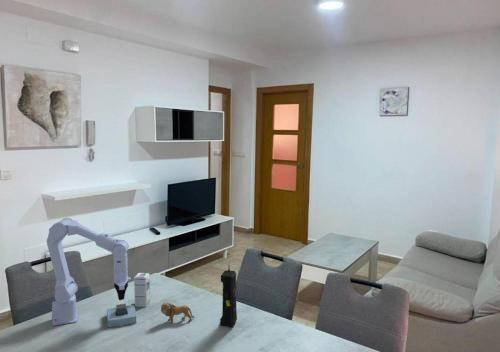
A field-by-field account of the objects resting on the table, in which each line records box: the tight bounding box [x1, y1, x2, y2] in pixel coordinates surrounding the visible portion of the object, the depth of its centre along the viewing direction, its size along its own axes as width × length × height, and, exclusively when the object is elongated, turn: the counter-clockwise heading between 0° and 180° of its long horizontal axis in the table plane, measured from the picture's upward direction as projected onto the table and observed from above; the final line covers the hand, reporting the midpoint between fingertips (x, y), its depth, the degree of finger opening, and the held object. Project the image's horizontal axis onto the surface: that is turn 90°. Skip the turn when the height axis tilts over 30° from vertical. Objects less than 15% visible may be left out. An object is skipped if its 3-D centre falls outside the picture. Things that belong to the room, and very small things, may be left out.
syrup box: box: [133, 272, 151, 308], centre depth 182 cm, size 6×6×14 cm
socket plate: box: [106, 304, 137, 328], centre depth 168 cm, size 12×12×3 cm
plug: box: [115, 303, 127, 316], centre depth 168 cm, size 4×4×6 cm
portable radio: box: [219, 264, 238, 328], centre depth 165 cm, size 8×6×25 cm
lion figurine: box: [160, 302, 195, 324], centre depth 167 cm, size 15×5×9 cm, turn 111°
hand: (121, 299), depth 167 cm, fingers closed
